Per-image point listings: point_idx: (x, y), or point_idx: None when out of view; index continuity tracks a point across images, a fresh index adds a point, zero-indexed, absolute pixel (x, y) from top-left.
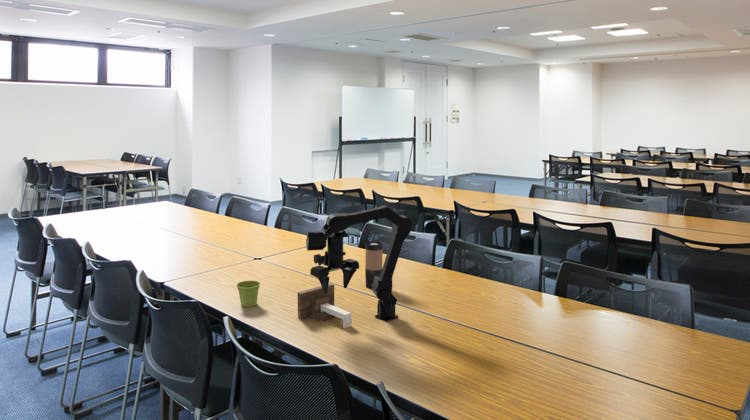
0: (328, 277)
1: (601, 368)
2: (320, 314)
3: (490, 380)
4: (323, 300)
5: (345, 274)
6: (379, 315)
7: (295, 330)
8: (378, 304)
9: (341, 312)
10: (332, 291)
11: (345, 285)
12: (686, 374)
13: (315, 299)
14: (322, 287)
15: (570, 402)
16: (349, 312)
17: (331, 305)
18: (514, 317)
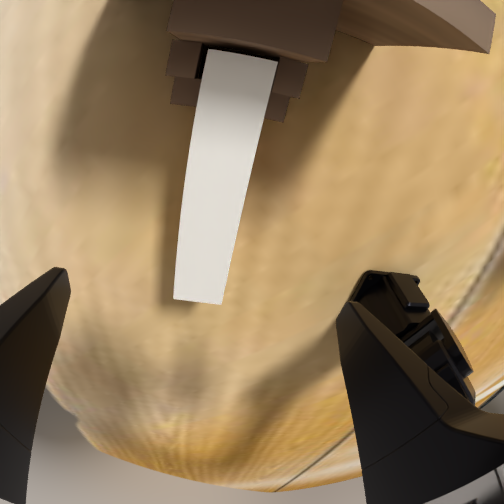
0: (12, 499)
1: (300, 474)
2: (175, 81)
3: (198, 463)
4: (254, 44)
5: (409, 445)
6: (365, 295)
7: (10, 104)
8: (398, 313)
9: (187, 266)
10: (434, 38)
11: (345, 345)
12: (319, 481)
13: (181, 5)
14: (5, 311)
15: (212, 480)
16: (220, 295)
17: (251, 128)
18: None
